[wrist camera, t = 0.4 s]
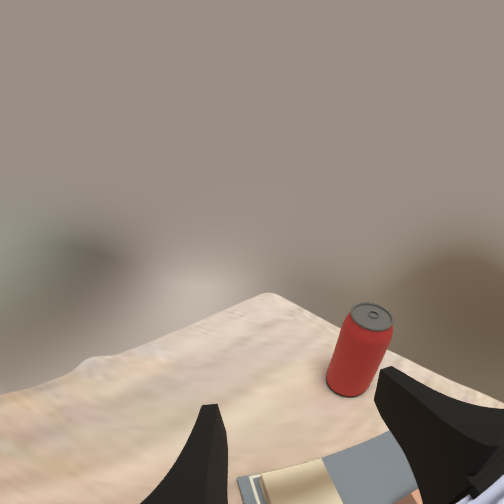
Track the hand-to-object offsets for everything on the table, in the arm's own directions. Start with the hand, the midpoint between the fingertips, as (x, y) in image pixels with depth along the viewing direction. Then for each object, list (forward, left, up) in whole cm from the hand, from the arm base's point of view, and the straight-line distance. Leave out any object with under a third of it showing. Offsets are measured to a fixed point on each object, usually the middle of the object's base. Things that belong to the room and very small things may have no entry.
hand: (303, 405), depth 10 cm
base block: (-1, -3, -19) cm, 19 cm away
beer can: (+14, -16, -20) cm, 29 cm away
